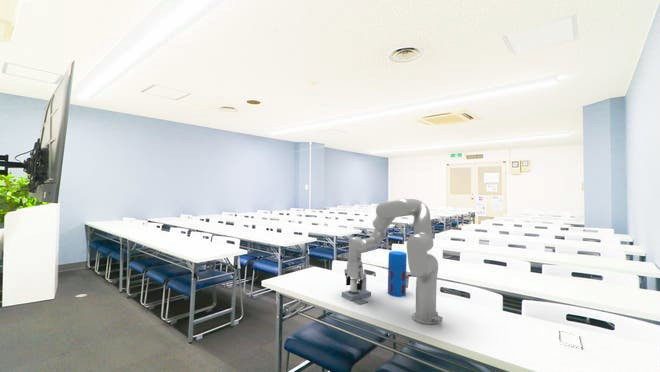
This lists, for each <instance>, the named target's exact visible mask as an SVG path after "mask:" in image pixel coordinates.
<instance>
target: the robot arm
mask: <svg viewBox="0 0 660 372" xmlns="http://www.w3.org/2000/svg"><path fill="white" fill-rule="evenodd" d="M375 213H376V217H375V218H374V220H373V221H372V225H373V227H374V231H373V233H372V234H371V235H370V237H366V238H361V237H359V236H351V237H349V240H348V259H347V263H346V268H345V269H344V271H343V272H344V275H345V282H346V283H345V285H346V286H350V279H357V290H362V283H363V281H364V279H365V276H364V275H363V273H364V270H363V269H364V266H363V261H362V253H368V252H371V251H375V250H377V249H378V247H380V245H381V244H382V242H383V241H384V238H385V236H386V231H387V230H388V229H389V227H390V226H391V225H392V223H393V221H394V220H395V219H396V218H399V217H407V216H408V217H409V216H413V221H412V222H413V223H412V224H413V225H412V227H413V234H410V236H408V238H407V240H406V255H407V262H408V264H407V265H408V269H409V271H410V273H411V274H412V275H413V276H414V277H416V280H415V311H414V312H413V313H412V315H411V317H412V319H413V321H415V322H417V323H420V324H422V325H437V324H439V323H440V324H441V323H442V322H443V319H444V318H443V317H442V316H440V315H439V312H438V311H437V286H438V285H437V281H438V273H439V272H438V271H439V262H438V260H437V258H436V257H435V256H434V255H433V254H430V253H428V252H429V251H430V250H432V248H433V246H434V235H433V228H432V222H431V220H432V219H431V213H430V209H429V208H428V206H427V205H426V203H424V202H423V201H422V200H419V199H415V198H401V199H395V200H390V201H384V202H380V203H379V204H378V205H377V206H376V208H375Z"/></svg>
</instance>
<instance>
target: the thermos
mask: <svg viewBox="0 0 660 372" xmlns="http://www.w3.org/2000/svg"><path fill="white" fill-rule="evenodd" d="M407 262H408V255H407V252H404V251H399V250H393V251H392V250H391V251H388V263H387V264H388V266H387V274H388V275H387V294H388V295H389V296H391V297H396V298H403V297H405V296H406V292H407Z"/></svg>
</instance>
